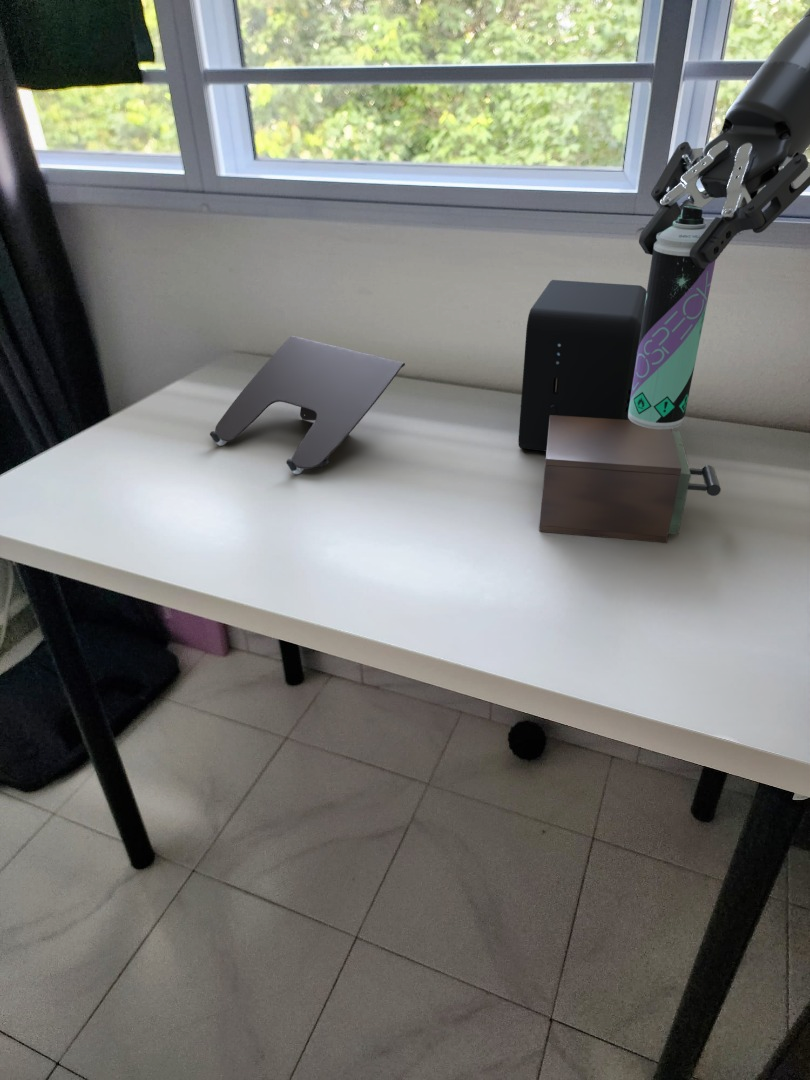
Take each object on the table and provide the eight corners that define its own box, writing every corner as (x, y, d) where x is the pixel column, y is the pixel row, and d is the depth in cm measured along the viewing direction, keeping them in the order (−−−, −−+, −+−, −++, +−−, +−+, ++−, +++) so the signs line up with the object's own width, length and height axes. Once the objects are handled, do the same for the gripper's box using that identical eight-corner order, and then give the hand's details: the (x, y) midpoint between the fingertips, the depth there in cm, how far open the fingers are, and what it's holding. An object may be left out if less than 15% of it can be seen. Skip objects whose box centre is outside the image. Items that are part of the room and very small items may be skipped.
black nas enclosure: (621, 467, 102) (644, 322, 92) (516, 454, 107) (527, 312, 96) (633, 412, 119) (654, 282, 108) (542, 402, 123) (553, 276, 112)
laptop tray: (223, 468, 117) (193, 428, 110) (308, 367, 125) (285, 324, 118) (332, 511, 105) (307, 470, 98) (418, 397, 114) (400, 351, 106)
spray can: (616, 413, 77) (646, 204, 66) (658, 403, 79) (694, 199, 68) (652, 433, 73) (690, 214, 62) (695, 422, 75) (740, 208, 64)
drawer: (703, 490, 95) (716, 433, 91) (716, 537, 86) (731, 477, 81) (561, 479, 98) (567, 424, 94) (559, 524, 89) (565, 465, 84)
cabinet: (657, 490, 97) (670, 422, 92) (666, 542, 87) (681, 468, 81) (543, 482, 99) (549, 414, 94) (538, 531, 89) (545, 458, 84)
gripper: (713, 58, 68) (595, 214, 70) (862, 57, 57) (718, 242, 59) (741, 121, 73) (630, 266, 75) (882, 132, 62) (749, 299, 64)
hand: (670, 254), depth 67 cm, fingers closed on spray can, 5 cm apart
